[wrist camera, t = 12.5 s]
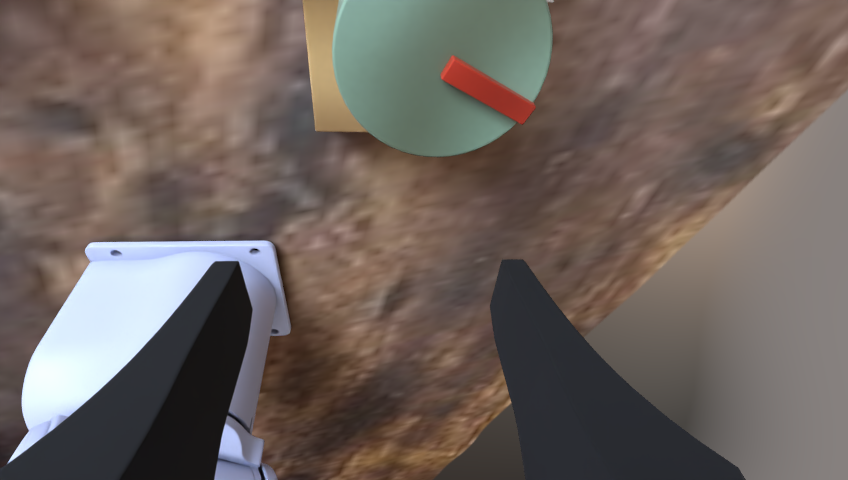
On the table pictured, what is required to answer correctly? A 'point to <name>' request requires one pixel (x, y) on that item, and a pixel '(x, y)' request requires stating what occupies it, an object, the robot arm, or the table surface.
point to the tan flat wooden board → (326, 69)
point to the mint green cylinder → (441, 69)
